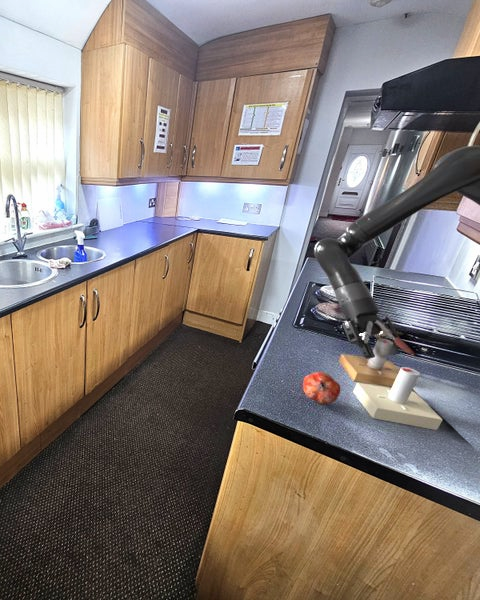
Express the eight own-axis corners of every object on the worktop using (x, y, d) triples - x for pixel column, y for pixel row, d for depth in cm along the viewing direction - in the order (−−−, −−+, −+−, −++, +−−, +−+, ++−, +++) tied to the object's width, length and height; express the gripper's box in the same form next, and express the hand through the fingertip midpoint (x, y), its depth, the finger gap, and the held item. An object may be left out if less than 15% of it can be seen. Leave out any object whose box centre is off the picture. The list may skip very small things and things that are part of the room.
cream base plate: (409, 401, 81) (415, 391, 80) (437, 430, 72) (443, 419, 71) (352, 391, 84) (357, 381, 83) (372, 418, 75) (377, 407, 74)
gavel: (439, 356, 95) (398, 351, 98) (432, 368, 97) (391, 363, 100) (399, 320, 113) (365, 316, 115) (394, 331, 115) (360, 327, 117)
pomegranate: (299, 393, 87) (292, 386, 80) (316, 370, 86) (310, 362, 79) (330, 412, 81) (325, 407, 74) (348, 388, 80) (345, 381, 74)
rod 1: (368, 362, 92) (379, 336, 89) (383, 367, 89) (395, 340, 86) (365, 366, 90) (376, 339, 87) (380, 371, 88) (392, 344, 84)
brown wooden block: (386, 370, 94) (390, 360, 92) (407, 391, 85) (412, 381, 84) (338, 362, 97) (341, 353, 96) (353, 382, 88) (357, 372, 87)
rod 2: (401, 396, 78) (415, 367, 75) (409, 405, 75) (424, 375, 72) (384, 393, 79) (398, 364, 76) (392, 402, 76) (406, 372, 73)
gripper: (347, 297, 88) (376, 356, 82) (388, 294, 91) (418, 350, 86) (324, 307, 95) (349, 362, 89) (362, 304, 98) (389, 357, 92)
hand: (383, 356), depth 87 cm, fingers open, 8 cm apart
